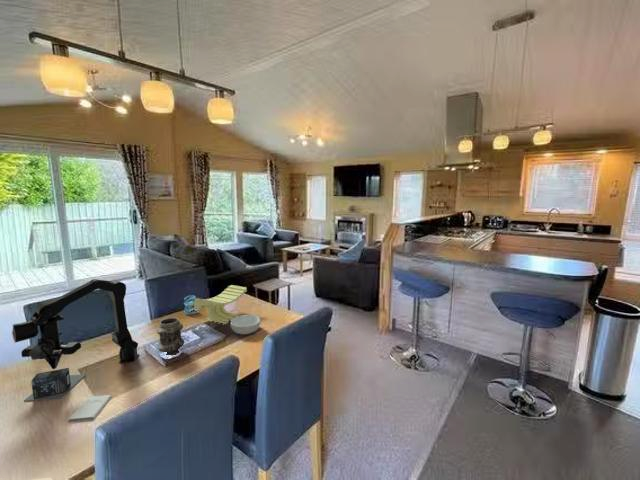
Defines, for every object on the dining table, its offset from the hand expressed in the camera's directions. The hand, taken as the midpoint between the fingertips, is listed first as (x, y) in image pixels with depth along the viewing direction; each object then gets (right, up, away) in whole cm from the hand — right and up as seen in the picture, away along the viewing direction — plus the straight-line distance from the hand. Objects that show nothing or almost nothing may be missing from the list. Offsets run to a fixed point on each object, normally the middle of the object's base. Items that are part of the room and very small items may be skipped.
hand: (54, 368), depth 125 cm
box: (+6, -4, 0) cm, 8 cm away
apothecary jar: (+35, -5, +28) cm, 45 cm away
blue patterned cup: (+22, +3, +81) cm, 84 cm away
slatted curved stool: (+46, +2, +72) cm, 86 cm away
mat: (0, -8, +1) cm, 8 cm away
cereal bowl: (+66, -1, +54) cm, 85 cm away
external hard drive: (+23, -11, -11) cm, 28 cm away
